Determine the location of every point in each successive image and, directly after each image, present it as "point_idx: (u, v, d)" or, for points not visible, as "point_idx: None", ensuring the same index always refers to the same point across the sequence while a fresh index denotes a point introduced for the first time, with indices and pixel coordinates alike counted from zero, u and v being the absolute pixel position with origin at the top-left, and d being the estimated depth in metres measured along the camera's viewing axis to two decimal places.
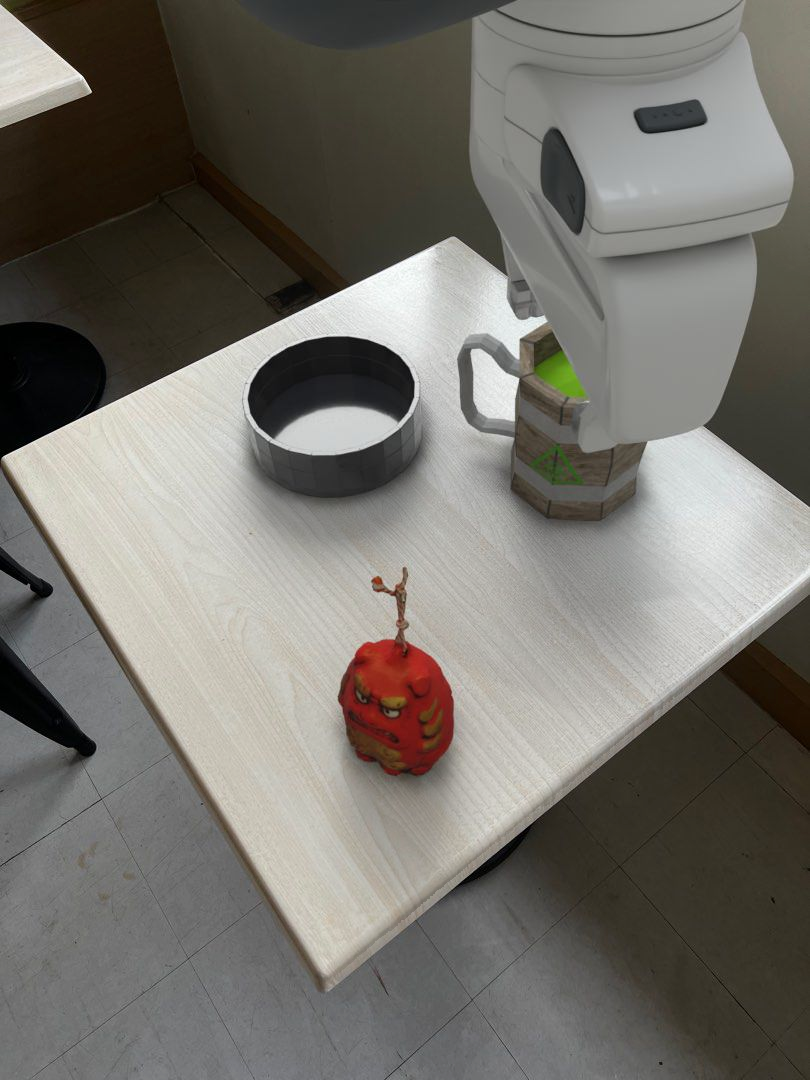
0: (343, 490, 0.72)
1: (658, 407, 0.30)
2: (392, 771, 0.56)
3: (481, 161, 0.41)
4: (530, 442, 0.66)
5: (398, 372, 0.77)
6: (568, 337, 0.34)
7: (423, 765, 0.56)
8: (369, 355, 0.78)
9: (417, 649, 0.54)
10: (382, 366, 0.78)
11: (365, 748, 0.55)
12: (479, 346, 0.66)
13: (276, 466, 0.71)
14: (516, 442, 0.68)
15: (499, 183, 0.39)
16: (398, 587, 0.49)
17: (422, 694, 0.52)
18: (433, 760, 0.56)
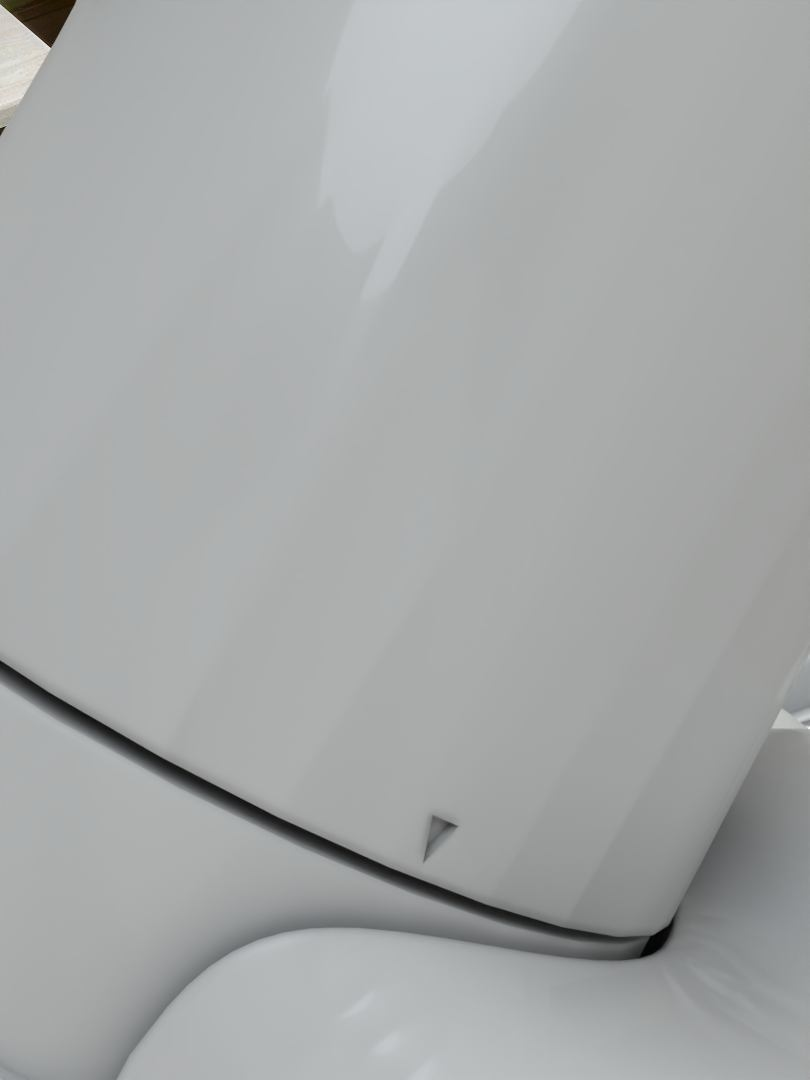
0: None
1: None
2: None
3: None
4: None
5: None
6: None
7: None
8: None
9: None
10: None
11: None
12: None
13: None
14: None
15: None
16: None
17: None
18: None
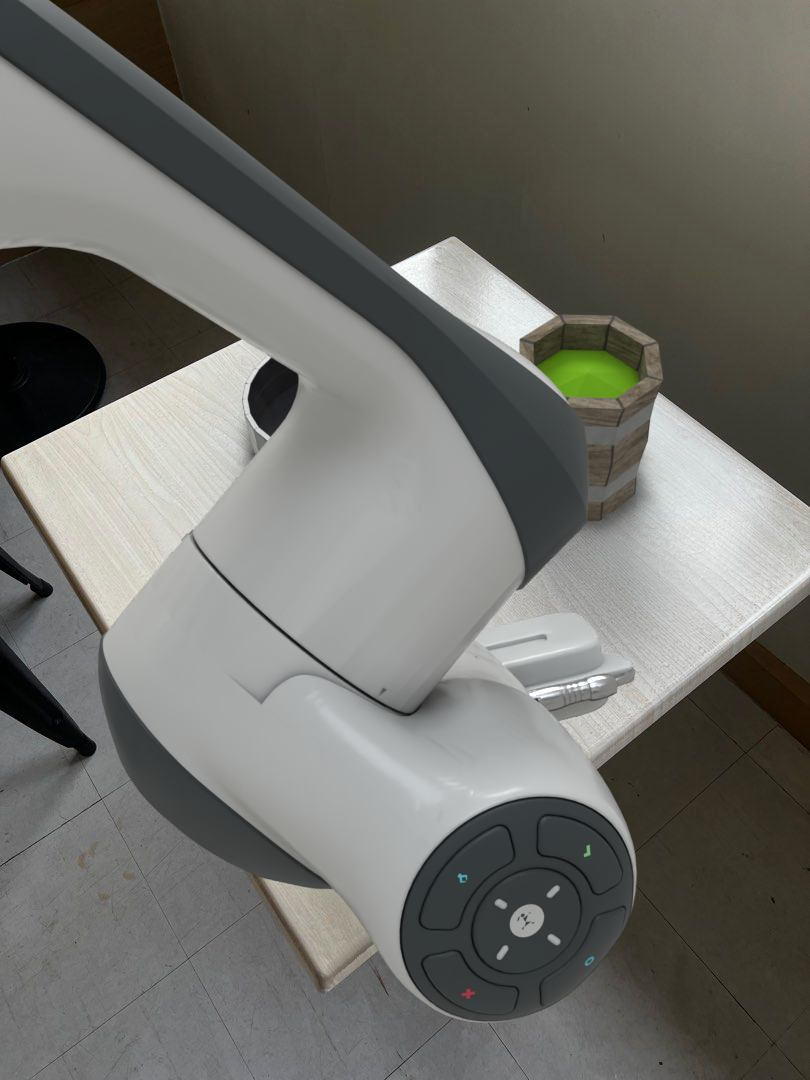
0: None
1: None
2: None
3: (538, 624, 0.47)
4: None
5: None
6: None
7: None
8: None
9: None
10: None
11: None
12: None
13: None
14: None
15: (490, 637, 0.46)
16: None
17: None
18: None
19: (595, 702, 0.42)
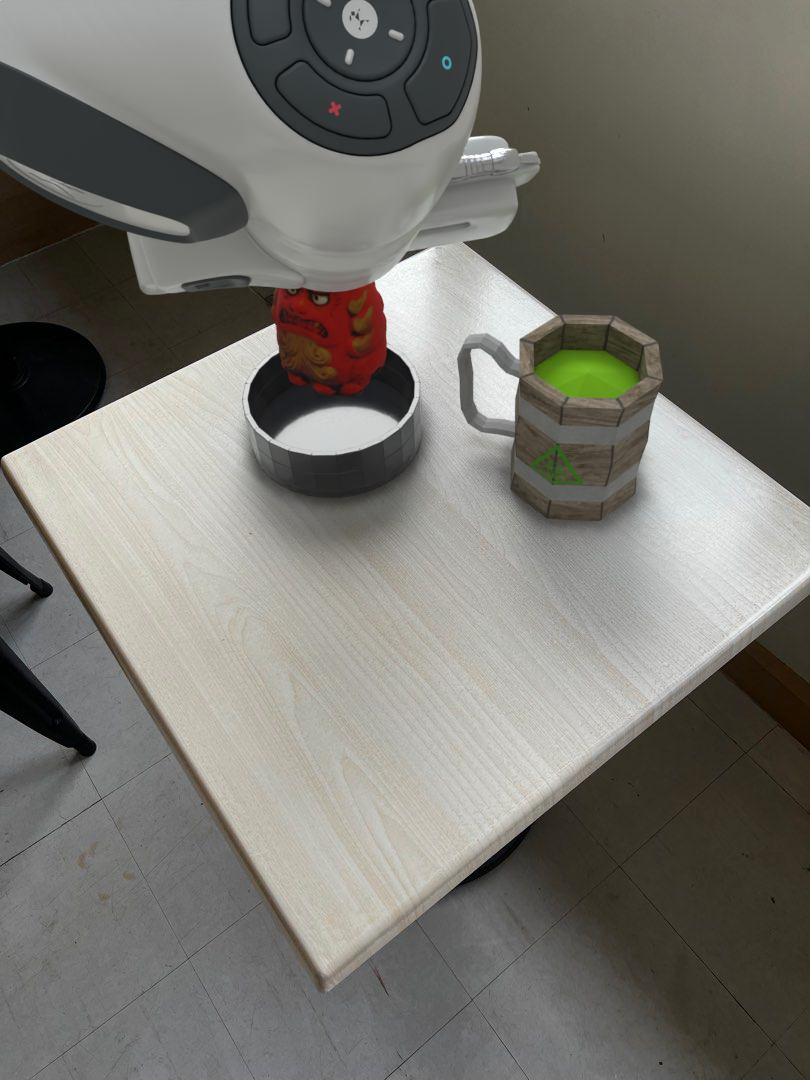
0: (343, 490, 0.72)
1: None
2: (323, 388, 0.57)
3: None
4: (530, 442, 0.66)
5: (398, 372, 0.77)
6: None
7: (355, 381, 0.56)
8: None
9: None
10: None
11: (296, 357, 0.56)
12: (479, 346, 0.66)
13: (276, 466, 0.71)
14: (516, 442, 0.68)
15: None
16: None
17: None
18: (364, 372, 0.56)
19: (501, 195, 0.43)
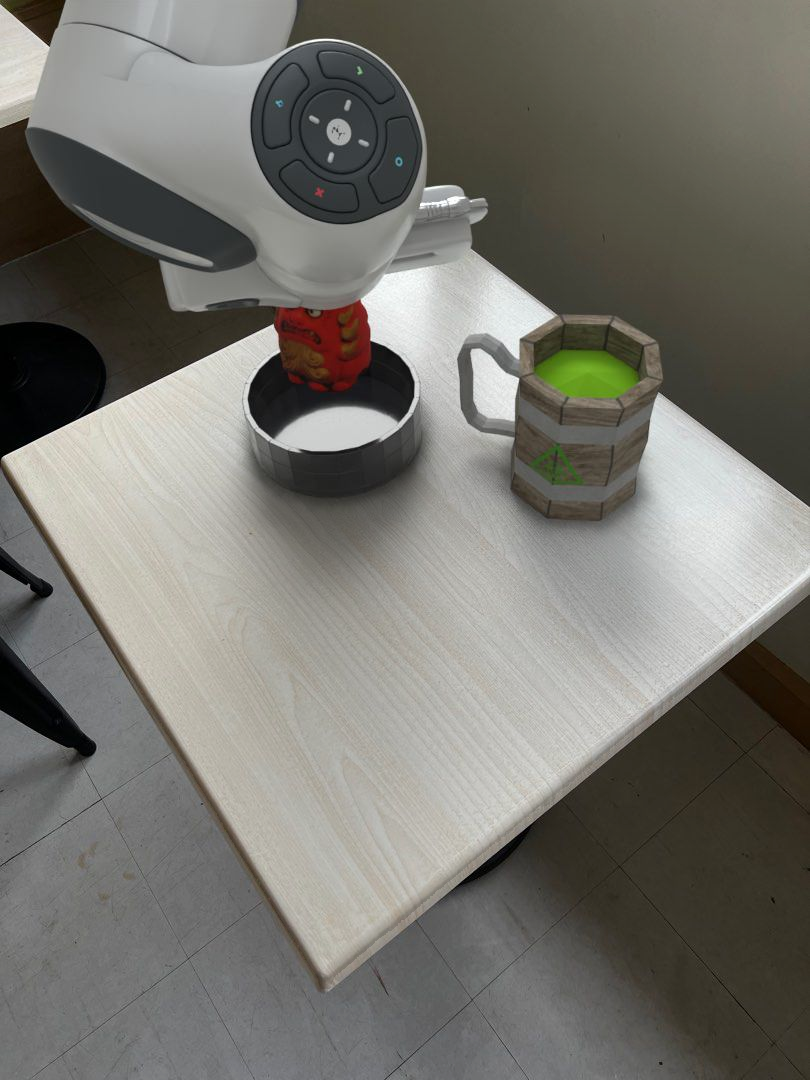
0: (343, 490, 0.72)
1: None
2: (318, 386, 0.68)
3: None
4: (530, 442, 0.66)
5: (398, 372, 0.77)
6: None
7: (344, 380, 0.67)
8: None
9: None
10: (382, 366, 0.78)
11: (295, 360, 0.67)
12: (479, 346, 0.66)
13: (276, 466, 0.71)
14: (516, 442, 0.68)
15: None
16: None
17: None
18: (351, 372, 0.67)
19: (457, 232, 0.54)
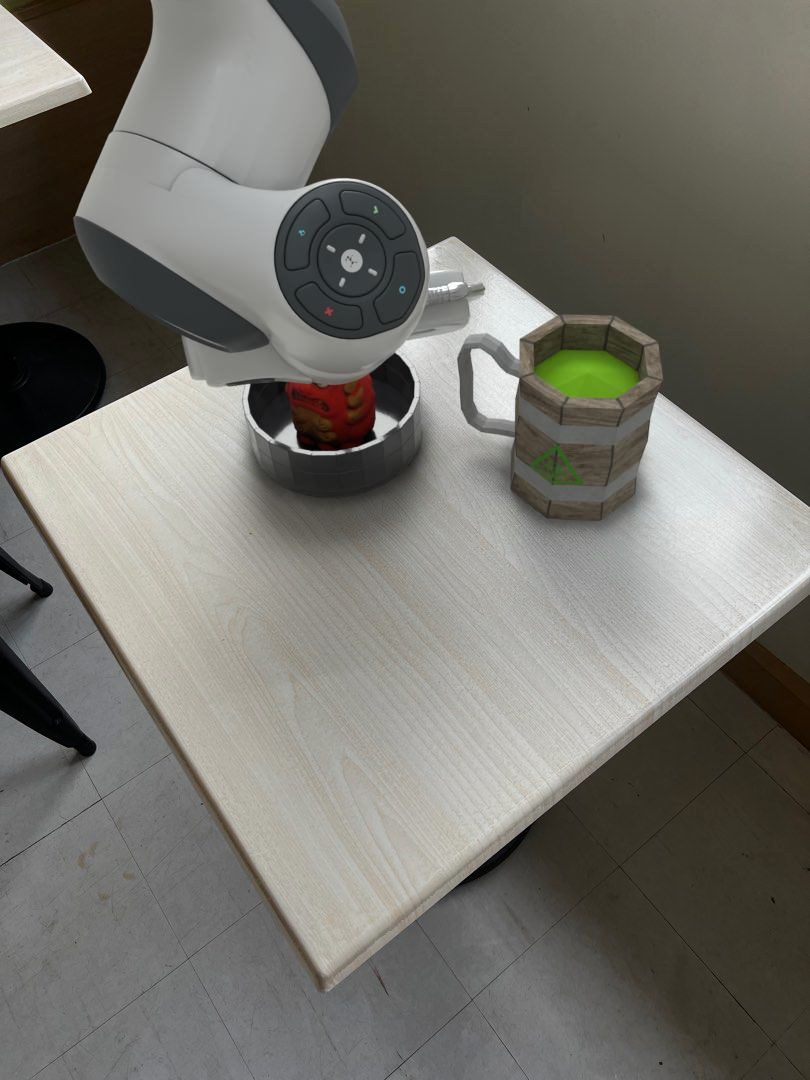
0: (343, 490, 0.72)
1: None
2: (327, 447, 0.73)
3: None
4: (530, 442, 0.66)
5: (398, 372, 0.77)
6: None
7: (351, 441, 0.73)
8: None
9: None
10: (382, 366, 0.78)
11: (305, 425, 0.72)
12: (479, 346, 0.66)
13: (276, 466, 0.71)
14: (516, 442, 0.68)
15: None
16: None
17: None
18: (358, 435, 0.72)
19: (457, 312, 0.58)
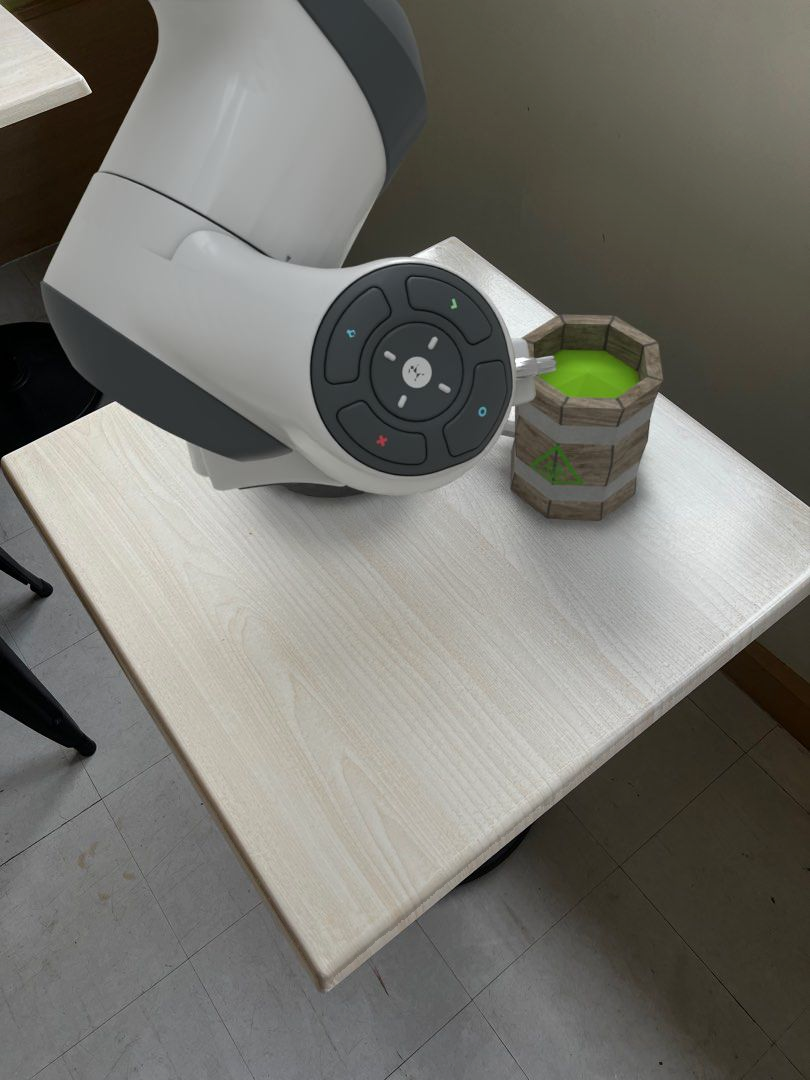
0: (343, 490, 0.72)
1: None
2: None
3: None
4: (530, 442, 0.66)
5: None
6: None
7: None
8: None
9: None
10: None
11: None
12: None
13: None
14: (516, 442, 0.68)
15: None
16: None
17: None
18: None
19: (521, 392, 0.47)
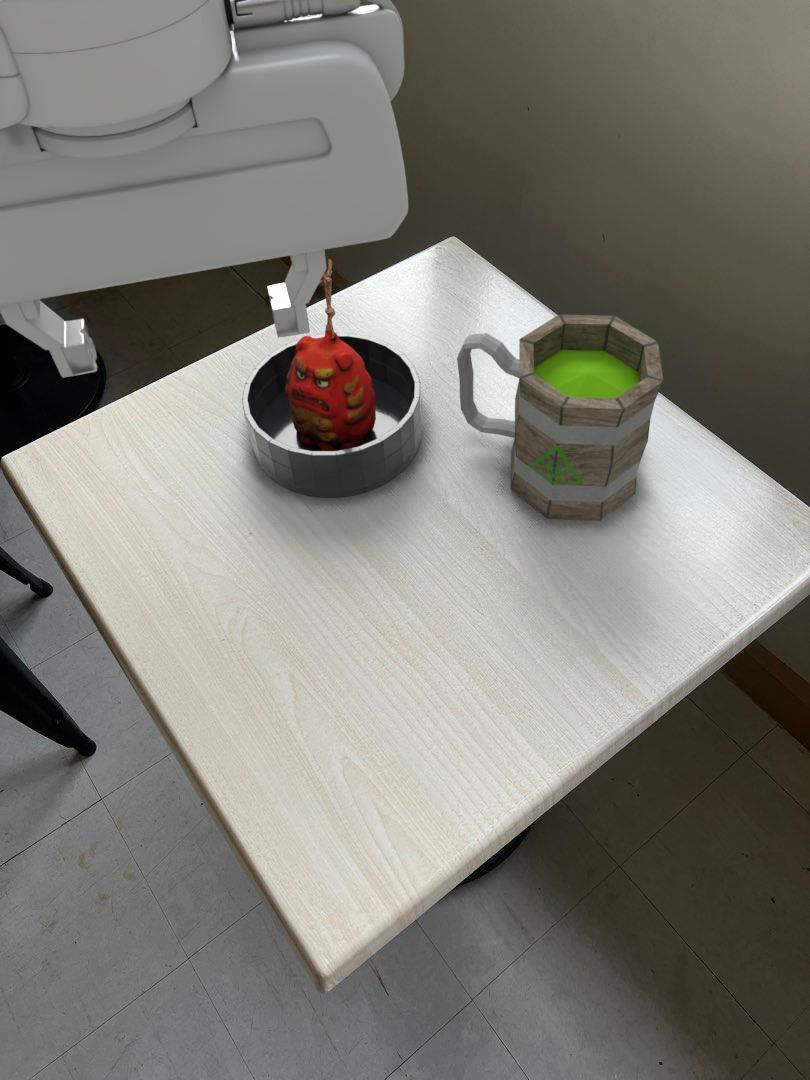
0: (343, 490, 0.72)
1: None
2: (327, 447, 0.73)
3: None
4: (530, 442, 0.66)
5: (398, 372, 0.77)
6: None
7: (351, 441, 0.73)
8: (369, 355, 0.78)
9: (344, 342, 0.71)
10: (382, 366, 0.78)
11: (305, 425, 0.72)
12: (479, 346, 0.66)
13: (276, 466, 0.71)
14: (516, 442, 0.68)
15: None
16: (325, 274, 0.66)
17: (346, 368, 0.69)
18: (358, 435, 0.72)
19: (350, 51, 0.30)
